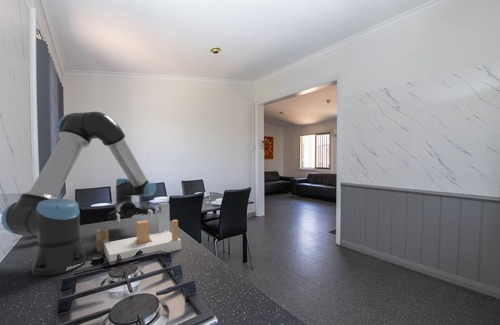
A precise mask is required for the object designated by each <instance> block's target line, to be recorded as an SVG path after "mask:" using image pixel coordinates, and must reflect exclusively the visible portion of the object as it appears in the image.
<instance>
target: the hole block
mask: <svg viewBox="0 0 500 325" xmlns="http://www.w3.org/2000/svg"><path fill="white" fill-rule="evenodd" d="M170 222H171V231H170V232H169V231H165V232H160V233H159V232H155V233H149V240H150V242H148V243H143V244H139V245H137V236H134V237H128V238H123V239H117V240H113V241H109V242H106V243H104V250H103V251H104V255H105V258H106V257H107V258H108V259H109V261H113V260H116V259H117V255H118V254H119V255H120V256H121V258H127V257H131V256H134V255H136V253H137V252H138V251H140V250H141V251H142V252H143V253H147V252H154V251H158V250H162V251H165V252H167V253H170V252H171V253H172V252H174V251H179V250H182V239H181V238H179V220H178V219H172V220H171V219H170ZM107 258H106V259H107Z"/></svg>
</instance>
